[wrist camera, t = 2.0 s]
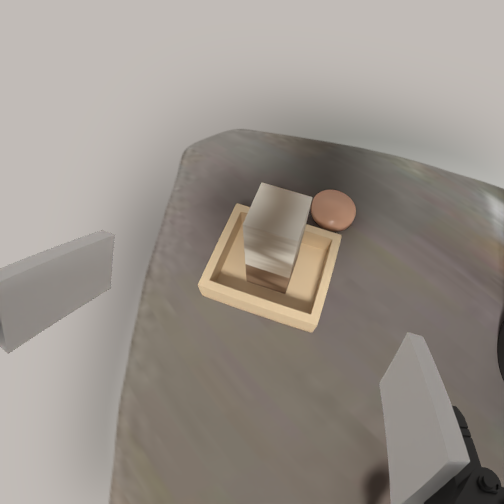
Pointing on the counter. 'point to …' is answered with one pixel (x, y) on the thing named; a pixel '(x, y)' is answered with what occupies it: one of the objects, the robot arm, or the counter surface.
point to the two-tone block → (274, 236)
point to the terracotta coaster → (333, 210)
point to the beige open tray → (263, 299)
